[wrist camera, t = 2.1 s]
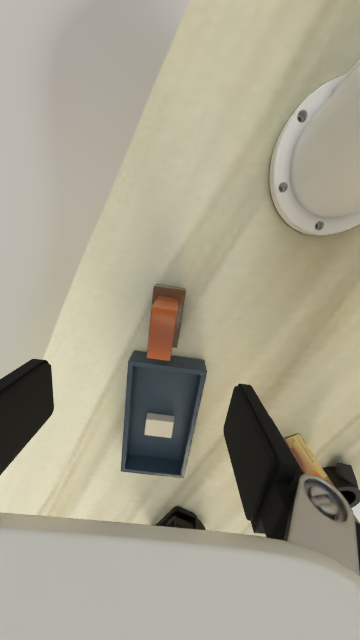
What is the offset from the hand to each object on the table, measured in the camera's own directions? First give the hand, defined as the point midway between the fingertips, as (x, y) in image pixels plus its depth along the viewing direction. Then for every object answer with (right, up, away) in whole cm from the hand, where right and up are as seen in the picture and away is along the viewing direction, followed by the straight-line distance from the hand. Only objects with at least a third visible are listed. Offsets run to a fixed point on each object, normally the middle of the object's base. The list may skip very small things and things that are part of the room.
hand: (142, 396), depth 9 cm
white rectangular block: (-1, -12, +18) cm, 22 cm away
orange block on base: (0, +5, +14) cm, 15 cm away
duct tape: (+28, -24, +23) cm, 43 cm away
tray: (-1, -10, +19) cm, 21 cm away
